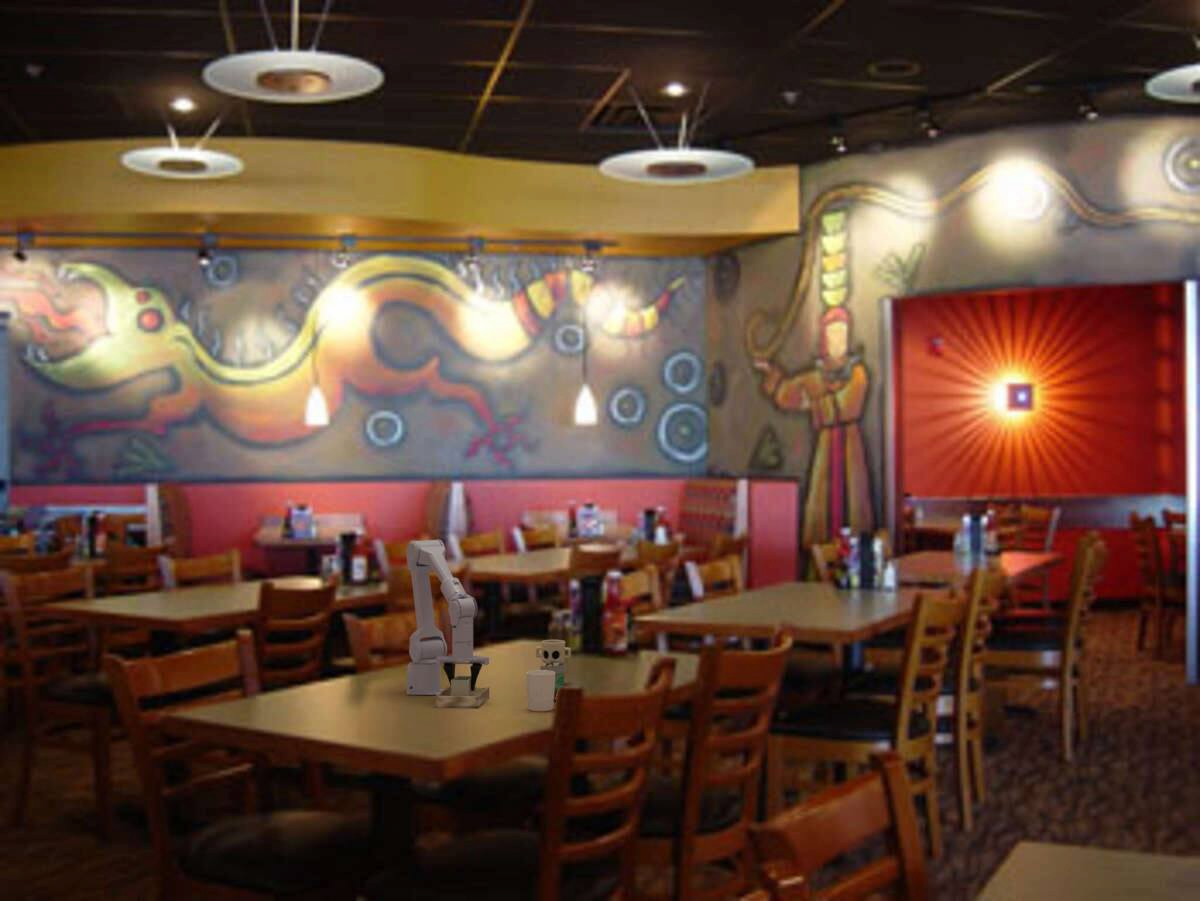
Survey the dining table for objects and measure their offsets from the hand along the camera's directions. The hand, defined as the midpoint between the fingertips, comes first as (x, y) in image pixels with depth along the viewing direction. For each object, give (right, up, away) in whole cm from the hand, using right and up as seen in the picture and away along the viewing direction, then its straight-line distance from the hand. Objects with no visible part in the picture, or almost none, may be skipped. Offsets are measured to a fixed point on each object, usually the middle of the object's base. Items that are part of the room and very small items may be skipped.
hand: (462, 690), depth 388 cm
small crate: (0, -2, 0) cm, 2 cm away
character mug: (+24, -4, +30) cm, 38 cm away
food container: (+26, -4, +5) cm, 26 cm away
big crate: (0, -3, 0) cm, 3 cm away
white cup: (+22, -4, -10) cm, 25 cm away
